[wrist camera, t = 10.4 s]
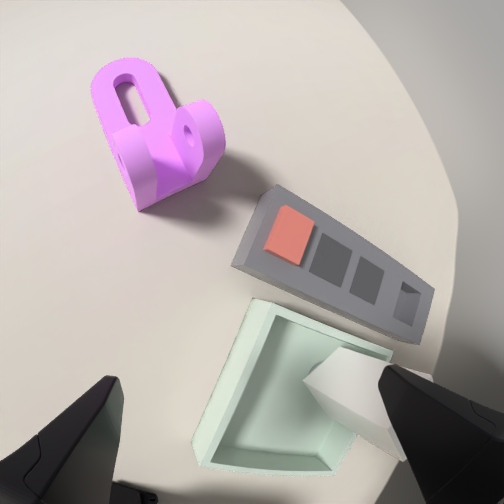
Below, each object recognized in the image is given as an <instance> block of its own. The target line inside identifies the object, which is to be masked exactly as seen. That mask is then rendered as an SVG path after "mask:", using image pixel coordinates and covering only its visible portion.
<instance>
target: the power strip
mask: <svg viewBox="0 0 504 504" xmlns="http://www.w3.org/2000/svg"><path fill="white" fill-rule="evenodd" d="M231 266H232V267H234V268H237V269H239V270H241V271H243V272H245V273H247V274H249V275H252V276H254V277H256V278H258V279H260V280H262V281H265V282H267V283H269V284H271V285H273V286H276V287H278V288H280V289H282V290H284V291H287V292H289V293H291V294H293V295H295V296H298V297H300V298H302V299H304V300H307V301H309V302H311V303H313V304H315V305H318V306H320V307H322V308H324V309H327V310H329V311H331V312H333V313H336V314H338V315H340V316H343V317H345V318H347V319H349V320H352V321H354V322H356V323H359V324H361V325H363V326H366V327H368V328H370V329H373V330H375V331H377V332H380V333H382V334H384V335H387V336H389V337H391V338H394V339H396V340H398V341H403V342H408V343H412V344H417V345H419V344H420V341H421V338H422V335H423V332H424V328H425V325H426V321H427V318H428V314H429V310H430V307H431V303H432V299H433V295H434V290H435V289H434V288H433V287H431V286H430V285H429V284H427V283H426V282H425V281H423V280H422V279H421V278H419V277H418V276H417V275H415V274H414V273H413V272H411V271H410V270H409V269H407V268H406V267H404V266H403V265H402V264H400V263H399V262H398V261H396V260H395V259H393V258H392V257H390V256H389V255H388V254H386V253H385V252H383V251H382V250H380V249H379V248H378V247H376V246H375V245H373V244H372V243H370V242H369V241H367V240H366V239H364V238H363V237H361V236H360V235H358V234H357V233H355V232H354V231H352V230H351V229H349V228H348V227H346V226H345V225H343V224H342V223H340V222H338V221H337V220H335V219H334V218H332V217H331V216H329V215H327V214H326V213H324V212H323V211H321V210H320V209H318V208H316V207H315V206H313V205H311V204H310V203H308V202H307V201H305V200H303V199H302V198H300V197H298V196H297V195H295V194H293V193H292V192H290V191H288V190H286V189H285V188H283V187H281V186H280V185H276V186H274V187H273V188H271V189H270V190H268V191H267V192H265V193H264V194H262V195H261V197H260V199H259V202H258V204H257V206H256V208H255V211H254V213H253V215H252V218H251V220H250V222H249V225H248V227H247V229H246V231H245V234H244V236H243V238H242V241H241V243H240V245H239V248H238V250H237V252H236V255H235V257H234V259H233V262H232V264H231Z"/></svg>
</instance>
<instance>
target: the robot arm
mask: <svg viewBox="0 0 504 504" xmlns="http://www.w3.org/2000/svg"><path fill="white" fill-rule="evenodd" d="M378 389H379V392H380V395H381V398H382V400H383V403H384V406H385V409H386V412H387V415H388V418H389V420H390V422H391V425H392V427H393V429H394V431H395V433H396V435H397V438H398V440H399V442H400V444H401V446H402V449H403V451H404V453H405V455H406V458H407V460H408V462H409V464H410V466H411V469H412V471H413V473H414V476H415V478H416V480H417V483H418V485H419V488H420V490H421V493H422V495H423V498H424V500H425V503H426V504H504V413H502V412H499V411H496V410H494V409H491V408H488V407H485V406H483V405H480V404H479V403H476V402H474V401H472V400H469V399H467V398H465V397H463V396H461V395H459V394H457V393H454V392H452V391H450V390H448V389H446V388H444V387H442V386H440V385H437V384H435V383H433V382H431V381H429V380H427V379H425V378H423V377H421V376H419V375H417V374H415V373H413V372H411V371H409V370H407V369H405V368H403V367H401V366H399V365H397V364H392V365H387V366H385V367H384V369H383V372H382V374H381V376H380V379H379V381H378ZM123 404H124V395H123V391H122V388H121V384H120V380H119V378H118V377H116V376H109V375H106V376H104V377H103V378H102V379H101V380H100V381H98V382H97V383H96V384H95V385H94V386H93V387H91V388H90V389H89V390H88V391H87V392H85V393H84V394H83V395H82V396H81V397H80V398H78V399H77V400H76V401H75V402H74V403H73V404H71V405H70V406H69V407H68V408H67V409H65V410H64V411H63V412H62V413H61V414H60V415H58V416H57V417H56V418H55V419H54V420H53V421H51V422H50V423H49V424H48V425H47V426H46V427H44V428H43V429H42V430H41V431H40V432H38V435H37V434H36V435H35V436H34V437H32V438H31V439H30V440H29V441H28V442H26V443H25V444H24V445H23V446H21V447H20V448H19V449H17V450H16V451H15V452H13V453H12V454H10V455H9V456H7V457H6V458H4V459H3V460H1V461H0V504H157V502H158V497H157V496H156V495H154V494H151V493H147V492H143V491H139V490H135V489H132V488H128V487H125V486H121V485H118V484H115V483H112V479H113V473H114V468H115V462H116V457H117V452H118V447H119V442H120V434H121V423H122V413H123ZM151 498H154V499H151Z"/></svg>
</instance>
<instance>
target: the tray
mask: <svg viewBox="0 0 504 504" xmlns="http://www.w3.org/2000/svg"><path fill="white" fill-rule="evenodd" d="M338 347H343V348H346V349H349V350H352V351H355V352H358V353H361V354H364V355H367V356H370V357H373V358H376V359H380V360H383V361H386V362H389V363H390V360H391V358H392V355H393V352H394V351H392V350H389V349H387V348H384V347H381V346H379V345H376V344H373V343H371V342H368V341H366V340H363V339H360V338H358V337H355V336H353V335H350V334H348V333H345V332H342V331H340V330H337V329H335V328H332V327H330V326H327V325H325V324H322V323H320V322H318V321H315V320H313V319H310V318H308V317H305V316H303V315H301V314H298V313H296V312H293V311H291V310H289V309H286V308H284V307H281V306H279V305H277V304H274V303H272V302H268V301H264V300H259V299H255V298H252V300H251V303H250V305H249V308H248V310H247V313H246V315H245V317H244V320H243V322H242V325H241V327H240V329H239V332H238V334H237V337H236V339H235V341H234V344H233V346H232V348H231V351H230V353H229V356H228V358H227V360H226V363H225V365H224V367H223V370H222V372H221V374H220V377H219V379H218V381H217V384H216V386H215V388H214V391H213V393H212V395H211V398H210V400H209V402H208V404H207V407H206V409H205V411H204V414H203V416H202V418H201V420H200V423H199V425H198V427H197V430H196V432H195V434H194V436H193V439H192V441H191V444H192V447H193V450H194V453H195V456H196V458H197V461H198V464H199V466H200V467H205V468H211V469H217V470H223V471H230V472H238V473H248V474H258V475H273V476H332V475H335V473H336V472H337V470H338V468H339V467H340V465H341V463H342V462H343V460H344V458H345V456H346V455H347V453H348V451H349V449H350V448H351V446H352V444H353V442H354V440H355V438H356V436H357V434H356V433H354V432H353V431H351V430H349V429H348V428H346V427H345V426H343V425H342V424H340V423H339V422H337V421H336V420H334V419H333V418H331V417H330V416H328V415H327V414H326V413H325V412H324V410H323V409H322V407H321V406H320V405H319V403H318V402H317V400H316V399H315V398H314V396H313V395H312V393H311V392H310V391H309V389H308V388H307V386H306V385H305V383H304V382H303V381H302V380H303V379H304V378H306V377H307V376H308V374H309V371H310V369H311V368H312V367H313V366H314V365H315V364H316V363H318V362H324V361H325V360H326V359H327V358H328V357H329V356H330V355H331V354H332V353H333V352H334V351H335V350H336V349H337V348H338Z"/></svg>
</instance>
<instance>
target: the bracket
mask: <svg viewBox="0 0 504 504" xmlns="http://www.w3.org/2000/svg"><path fill="white" fill-rule="evenodd" d="M123 82H130V83H132V84H134V85H135V87H136V90H137V92H138V94H139V96H140V98H141V100H142V103H143V105H144V107H145V109H146V111H147V114H148V116H149V118H150V120H149V122H148V123H146V124H145V125H142V126H137V125H135V124H133V125H131V124H130V123H129V122H128V120H127V118H126V115H125V113H124V111H123V108H122V106H121V103H120V101H119V98H118V96H117V94H116V91H115V88H116V86H117V85H119V84H121V83H123ZM91 95H92V99H93V103H94V106H95V109H96V112H97V114H98V117H99V120H100V123H101V125H102V128H103V131H104V133H105V136H106V138H107V141H108V144H109V146H110V149H111V151H112V153H113V156H114V158H115V161H116V163H117V166H118V168H119V170H120V173H121V175H122V177H123V180H124V182H125V184H126V186H127V189H128V191H129V193H130V195H131V198H132V200H133V202H134V204H135V206H136V208H137V211H138V212H139V211H141V210H143V209H145V208H147V207H149V206H151V205H153V204H155V203H157V202H159V201H161V200H163V199H165V198H167V197H169V196H171V195H173V194H175V193H177V192H180V191H182V190H184V189H186V188H188V187H190V186H193V185H195V184H197V183H199V182H201V181H204V180H206V179H207V178H208V176H209V174H210V173H211V171H212V170H213V168H214V167H215V165H216V164H217V162H218V161H219V159H220V158H221V156H222V155H223V153H224V151H225V145H226V142H225V134H224V129H223V126H222V123H221V120H220V118H219V116H218V114H217V112H216V110H215V109H214V108H213V106H212V105H211V104H210V103H209V102H207V101H205V100H200V101H197V102H193V103H190V104H187V105H184V106H181V107H179V108H178V109H176V107H175V105H174V103H173V101H172V99H171V97H170V96H169V94H168V92H167V90H166V88H165V86H164V84H163V82H162V80H161V78H160V76H159V74H158V72H157V70H156V69H155V67H154V66H153V65H152V64H150V63H149V62H147V61H145V60H142V59H139V58H123V59H118V60H115V61H113V62H111V63H109V64H107V65H105V66H104V67H103V68H101V69H100V70H99V71H98V72H97V74H96V75H95V77H94V78H93V80H92V83H91Z"/></svg>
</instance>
